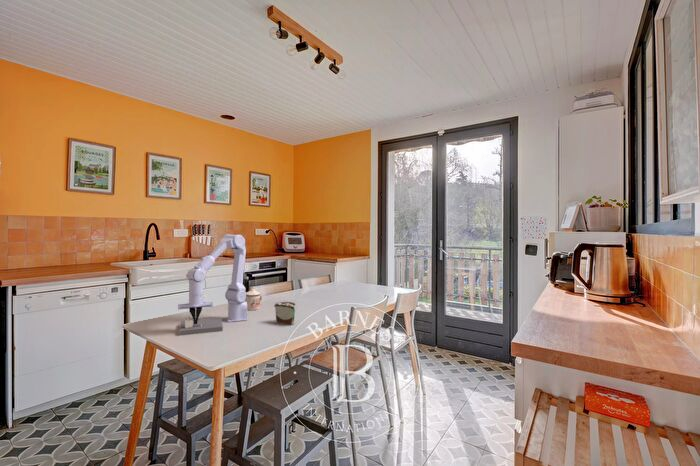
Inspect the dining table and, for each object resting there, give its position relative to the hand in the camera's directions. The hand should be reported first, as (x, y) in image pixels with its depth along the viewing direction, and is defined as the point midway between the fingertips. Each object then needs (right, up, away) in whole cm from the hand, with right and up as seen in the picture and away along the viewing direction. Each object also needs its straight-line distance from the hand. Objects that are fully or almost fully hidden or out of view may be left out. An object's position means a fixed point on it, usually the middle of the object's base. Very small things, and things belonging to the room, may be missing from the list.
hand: (195, 323), depth 154 cm
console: (+1, -3, +4) cm, 5 cm away
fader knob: (-3, -1, -1) cm, 3 cm away
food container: (+40, -4, +15) cm, 43 cm away
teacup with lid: (+15, -3, +42) cm, 44 cm away
